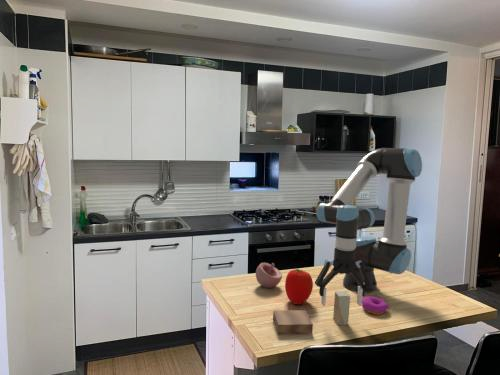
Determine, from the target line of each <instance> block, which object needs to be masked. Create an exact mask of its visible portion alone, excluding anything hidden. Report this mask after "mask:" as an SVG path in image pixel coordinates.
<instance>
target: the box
mask: <svg viewBox="0 0 500 375" xmlns="http://www.w3.org/2000/svg"><path fill="white" fill-rule="evenodd" d="M333 300H334V303H333V314H332V316H333V317H332V319H333V321H334V323H335V324H336V325H337V326H341V325H342V326H348V325H349V319H350V317H349V316H350V306H351V304H350V303H351V295H349V293H348V292H347V291H346V290H335V291H334V299H333Z"/></svg>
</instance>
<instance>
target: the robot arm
mask: <svg viewBox="0 0 500 375" xmlns="http://www.w3.org/2000/svg"><path fill="white" fill-rule="evenodd" d="M422 170H423V161H422V157H421V154H420V153H419V150H417V149H416V148H415V149H413V148H406V147H404V148H403V147H400V148H399V147H397V148H396V147H393V148H392V147H381V148H376V149H374V150H372V151H370V152H369V153H367V154H366V155H364V156H363V157H362V158H361V159H360V160H359V162H357V164H356V169H355V170H354V171H353V172H352V173H351V175H350V176H349V177H348V178H347V179H346V181H344V183H343V184H342V186H341V187H340V188H339V189H338V190H337V192H336V193H335V194H334V195H333V197H332V198H331V199H330V200H329V201H328V203H327V202H325V203H324V202H322V203H320V204H319V205H317V208H316V218H317V219H318V221H320V222H323V223H326V224H332V225H335V234H334V235H335V237H334V238H335V240H334V246H335V248H334V249H333V250H334V252H333V260H332V261H330V260H328V259H325V260H324V265H323V267H322V269H321V270H320V272H319V274H318V276H317V278H316V279H315V282H314V285H315V286H316V287H319V292H318V293H319V296H320V297H321V298H320V299H321V301H320V302H321V305H322V306H323V307H326V301H327V288H326V286H327V285H328V284H329V283H330V282H331V280H333V279H334V278H335V277H336V276H337V275H338V274H340V275H343V274H344V276H343V279H342V281H343V282H342V284H343V286H344V287H345V288H346V289H347V290H351V291H355V292H357V294H356V304H357V305H358V306H359V307H362V299H363V297H365V295H366V294H365V293H370V292H374V291H376V290H377V287H378V286H377V285H378V284H377V279H376V275H375V270H380V271H384V272H387V273H389V274H395V275H401V274H404V273H405V271H406V270H407V269H408V267H409V264H410V262H411V258H412V254H411V253H412V252H411V250H410V249H409V248H407V247H408V243H407V242H406V241H405V232H406V223H407V218H408V217H407V216H408V209H409V208H408V206H409V200H410V192H411V185H412V184H413V183H414V182H416V178H417V177H420V175H421V172H422ZM380 174H382V175H386V180H387V181H388V182H389V183H388V192H387V199H386V208H385V217H384V224H383V225H384V226H383V234H382V237H380V238H379V239H378V242H377V238H376V237H373V236H358V231H359V230H362V229H363V230H365V229H368V228H369V227H372V226H373V225H374V223H375V221H376V215H375V213H374V211H373V210H372V209H370V208H367V207H365V208H364V207H362V208H359V207H358V206H356V205H352V204H353V202H354V201H355V200H356V199H357V197H358V196H359V195H360V193H361V192H362V191H363V190H364V188H365V187H366V186H367V184H368V183H369V181H370V180H371V179H374V178H376V177H377V175H380ZM332 266H333V268H332V269H331V270H330V268H331V267H332ZM329 270H330V272H329V273H328V271H329Z"/></svg>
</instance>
